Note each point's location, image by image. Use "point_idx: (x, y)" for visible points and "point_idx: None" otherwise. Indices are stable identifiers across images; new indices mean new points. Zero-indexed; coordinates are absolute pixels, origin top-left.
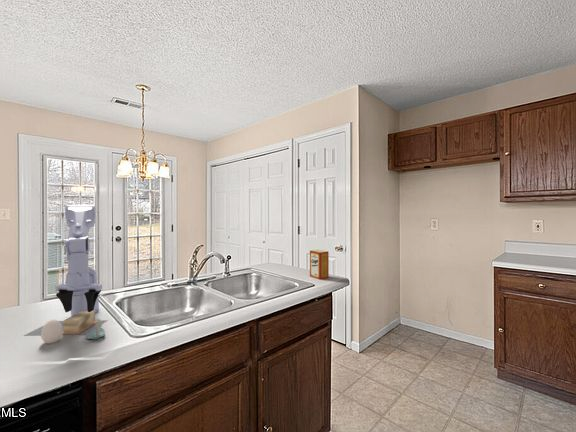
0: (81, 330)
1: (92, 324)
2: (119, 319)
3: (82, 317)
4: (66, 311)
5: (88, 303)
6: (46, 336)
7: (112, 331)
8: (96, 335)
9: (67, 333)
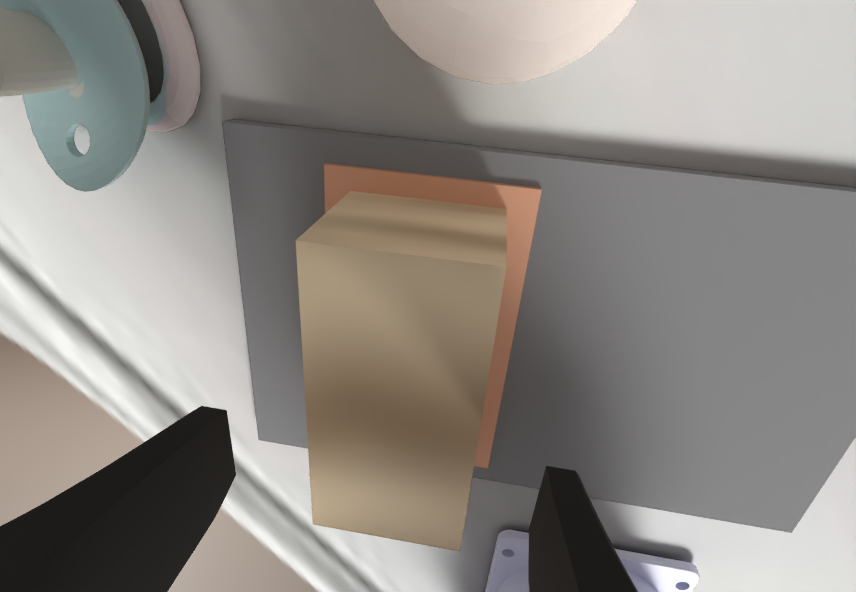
0: None
1: None
2: None
3: (302, 345)
4: (556, 475)
5: (80, 508)
6: None
7: (68, 216)
8: (20, 16)
9: (449, 180)
